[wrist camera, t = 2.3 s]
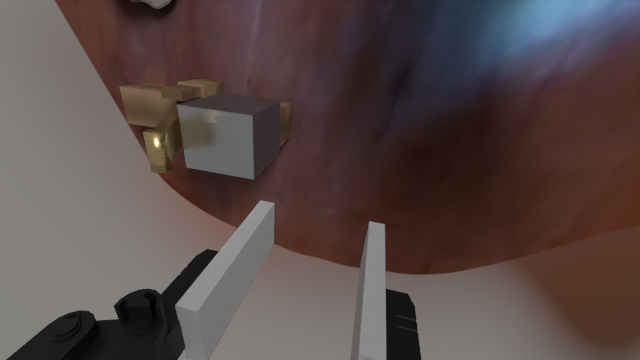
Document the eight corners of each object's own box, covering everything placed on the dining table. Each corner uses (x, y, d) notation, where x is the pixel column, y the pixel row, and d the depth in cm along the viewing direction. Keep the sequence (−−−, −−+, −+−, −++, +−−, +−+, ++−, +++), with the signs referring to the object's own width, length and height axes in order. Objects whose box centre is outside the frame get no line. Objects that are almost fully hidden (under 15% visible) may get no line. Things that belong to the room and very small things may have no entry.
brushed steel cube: (220, 93, 30) (177, 104, 23) (280, 101, 29) (252, 115, 22) (223, 145, 32) (186, 167, 26) (279, 154, 31) (254, 179, 25)
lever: (173, 100, 29) (138, 129, 20) (189, 100, 29) (162, 129, 20) (179, 136, 31) (149, 177, 22) (194, 136, 31) (171, 177, 22)
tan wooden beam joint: (143, 71, 35) (89, 76, 28) (292, 90, 32) (269, 100, 25) (154, 126, 38) (108, 141, 32) (289, 148, 35) (269, 169, 29)
